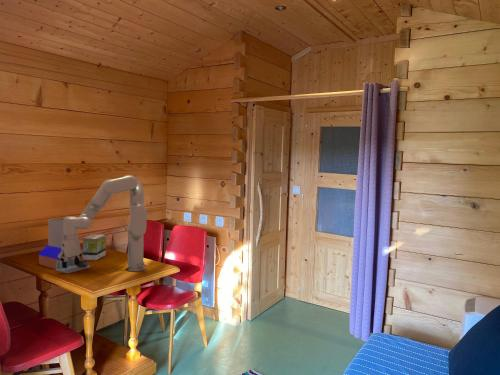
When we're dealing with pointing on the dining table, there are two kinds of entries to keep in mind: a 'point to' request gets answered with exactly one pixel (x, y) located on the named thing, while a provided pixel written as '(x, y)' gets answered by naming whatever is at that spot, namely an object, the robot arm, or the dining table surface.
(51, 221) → the cylinder vase
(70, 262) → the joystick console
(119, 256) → the dining table surface
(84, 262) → the cube on round rod
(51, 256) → the house
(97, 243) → the tea box
